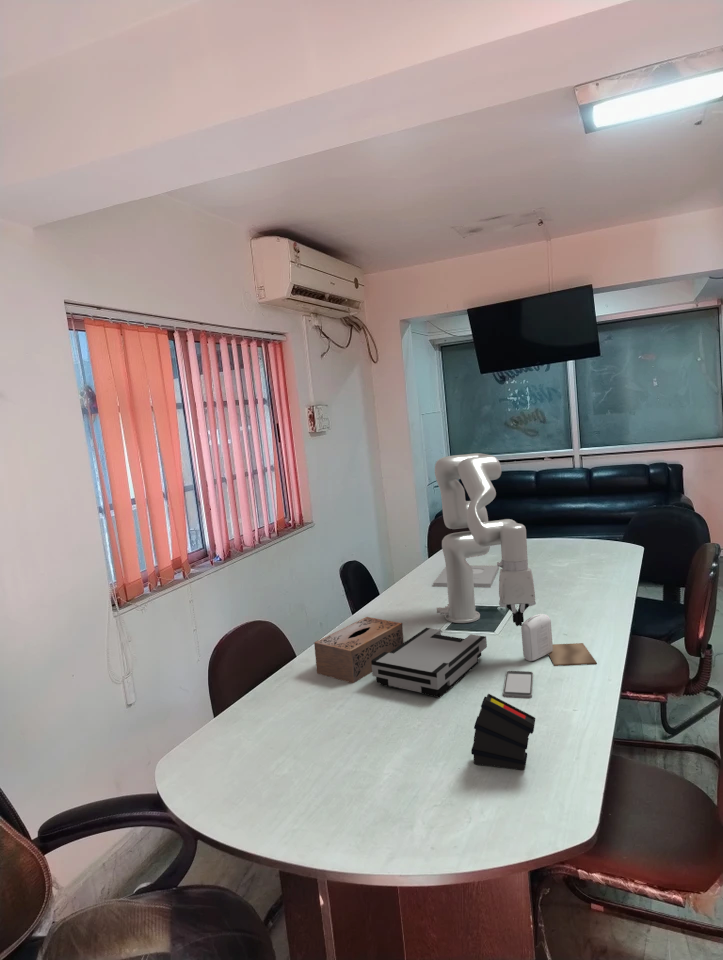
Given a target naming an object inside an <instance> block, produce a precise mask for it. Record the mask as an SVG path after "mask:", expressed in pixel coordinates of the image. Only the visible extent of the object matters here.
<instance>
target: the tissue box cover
mask: <svg viewBox="0 0 723 960" xmlns="http://www.w3.org/2000/svg"><path fill="white" fill-rule="evenodd" d="M404 642H405V640H404V631H403V623H402V622H398V621H391V620H387V619H381V618H375V617H370V616H365V617H363V618H362V619H360V620H358V621H356V622H353V623H352V624H350V625H347V626H345V627H343V628H342V629H341V628H340V629H339V630H337V631H335V632H333V633H331V634H329V635H327V636H325V637H323V638H321V639H318V640H316V641H315V642H313V644H314V654H315V656H314V657H315V665H316V673H317V674H318V675H322V676H324V677H328V678H329V677H330V678H333V679H337V680H340V681H344V682H347V683H350V684H355V683H357V682H358V681H360V680H361V679H363V678H365V677H367V676H368V675H370V674H372V664H371V660H373V659H374V658H376V657H377V656H379V655H380V654H382V653H383V652H388V653H390V652H391V651H393V650H394V649H396V648H397V647H398V646H400V645H401V644H403V643H404Z"/></svg>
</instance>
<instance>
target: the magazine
mask: <svg viewBox="0 0 723 960" xmlns="http://www.w3.org/2000/svg"><path fill="white" fill-rule="evenodd" d="M535 724H536V716H533V715H531V714H529V713H528V712H525V711H524V710H522V709H519V708H518V707H515V706H514V705H512V704H510V703H508V702H506V701H504V700H502V699H500V698H498V697H496V696H494V695H493V694H491V693H487V695H486V696H484V698H483V699H482V702H481V705H480V711H479V714H478V716H477V717H476V721H475V723H474V725H473V729H474V736H473V744H472V747H471V755H473V764H474V765H478V766H485V767H491V768H493V767H494V768H503V769H510V770H511V769H512V770H518V771H524V770H525V768H526V764H527V760H528V752H526V750H527V749H528V745H529V736H530V734H531V735H533V733H534V731H535Z"/></svg>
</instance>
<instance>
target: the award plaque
mask: <svg viewBox="0 0 723 960" xmlns="http://www.w3.org/2000/svg"><path fill="white" fill-rule="evenodd" d="M469 565H470V564H469ZM470 566H471V568H472V570H473V581H474V588H487V589H488V588H492V586H493V584H494V580H495V578H496V577H497V574H498V571H500V567H497V565H474V564H473V565H470ZM432 585H433V587H435V588H438V587H439V588H448V587H447V573H446V566H444V568H443V569H442V571H441V572H440V574H438V575H437V577H436V579H435V580H434V581H433V582H432Z"/></svg>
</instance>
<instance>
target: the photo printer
mask: <svg viewBox="0 0 723 960" xmlns="http://www.w3.org/2000/svg"><path fill="white" fill-rule="evenodd" d="M520 628H521V629H520V630H521V632H520V633H521V641H522V642H521V643H522V654H523V658H524V660H526V661H529V662H532V661H536V660H538V659H540V658H542V657H544V656H546V655H548V653H550V652H552V651H553V644H554V643H553V633H552V621H551V618H550V616H549V615H548V614H545V613H539V614H538V613H537V614H535V615H532V616H530V617H529V618H527V619H526V620H524V622H522V626H520Z"/></svg>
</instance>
